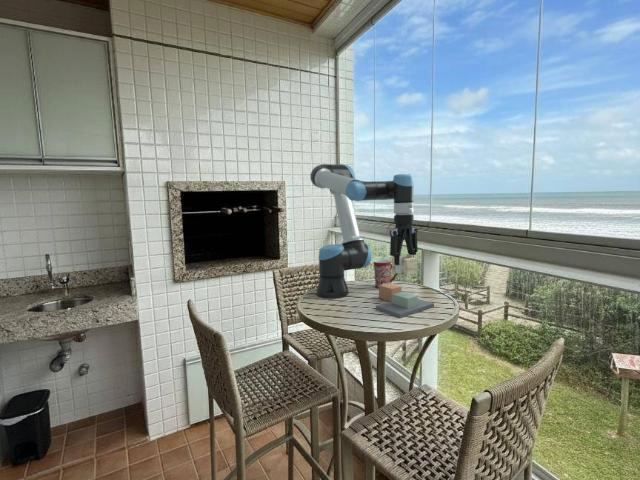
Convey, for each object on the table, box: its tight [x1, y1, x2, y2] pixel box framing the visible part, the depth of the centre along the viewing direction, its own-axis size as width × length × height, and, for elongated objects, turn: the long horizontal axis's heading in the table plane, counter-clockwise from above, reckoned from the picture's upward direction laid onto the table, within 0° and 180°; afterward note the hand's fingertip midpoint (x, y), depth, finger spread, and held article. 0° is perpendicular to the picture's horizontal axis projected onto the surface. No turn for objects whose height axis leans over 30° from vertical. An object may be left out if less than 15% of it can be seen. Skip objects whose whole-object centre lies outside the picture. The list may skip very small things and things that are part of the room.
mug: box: [372, 258, 398, 289], centre depth 167 cm, size 13×9×14 cm
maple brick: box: [391, 255, 419, 276], centre depth 133 cm, size 8×6×6 cm
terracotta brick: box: [378, 283, 402, 302], centre depth 148 cm, size 8×6×6 cm
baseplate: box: [375, 291, 435, 319], centre depth 135 cm, size 13×20×6 cm, turn 125°
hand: (404, 271), depth 133 cm, fingers closed on maple brick, 6 cm apart
